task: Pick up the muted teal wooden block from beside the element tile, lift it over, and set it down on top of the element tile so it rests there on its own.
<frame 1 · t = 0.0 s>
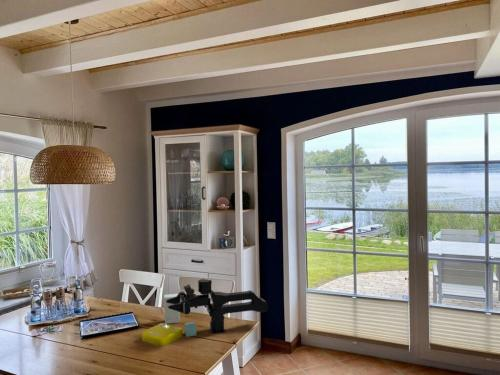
hand: (167, 304, 188), 17 cm above the table, tool horizontal, fingers open, 9 cm apart
skincare box: (172, 322, 209), on the table
block: (190, 334, 192), on the table
element tile: (162, 339, 188), on the table
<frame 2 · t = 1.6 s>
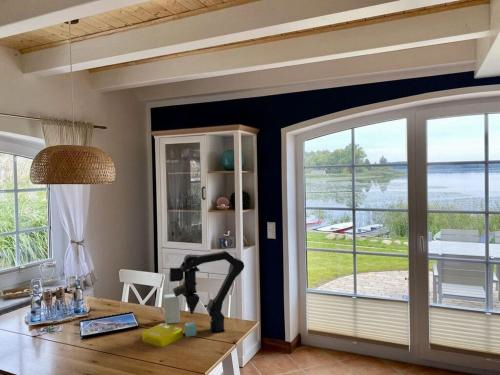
hand: (190, 310, 192), 12 cm above the table, tool pointing down, fingers open, 9 cm apart
nothing on the table moved.
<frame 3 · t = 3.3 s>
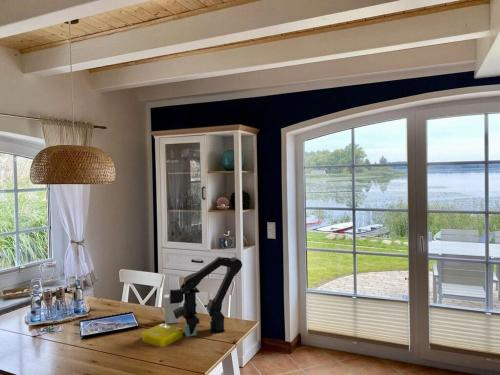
hand: (190, 332, 192), 1 cm above the table, tool pointing down, fingers closed on block, 5 cm apart
block: (190, 334, 192), on the table, touching gripper
everything else where it was.
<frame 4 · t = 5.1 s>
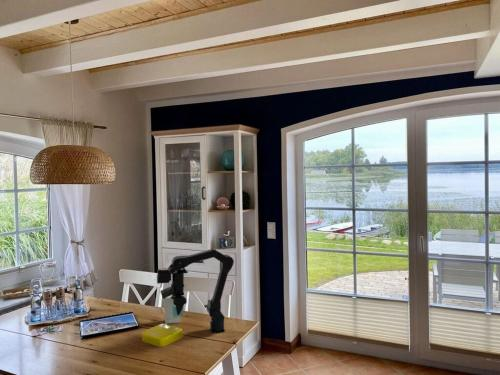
hand: (177, 313, 190), 12 cm above the table, tool pointing down, fingers closed on block, 5 cm apart
block: (177, 315, 190), point 10 cm above the table, touching gripper
everything else where it was.
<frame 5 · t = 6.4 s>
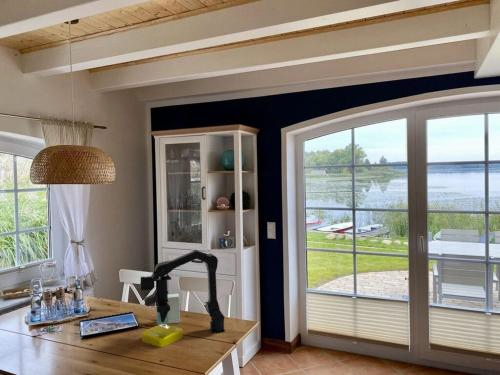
hand: (162, 320, 187), 9 cm above the table, tool pointing down, fingers closed on block, 5 cm apart
block: (162, 322, 188), point 8 cm above the table, touching gripper
everything else where it was.
when the fingers open (7 cm above the table, at t = 7.1 s): block drops 2 cm, point 4 cm above the table.
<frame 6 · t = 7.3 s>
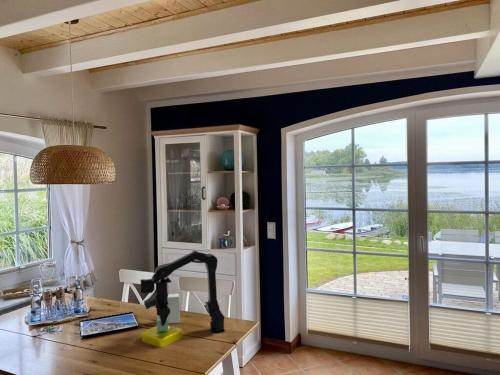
hand: (162, 322, 188), 7 cm above the table, tool pointing down, fingers open, 7 cm apart
block: (162, 329, 188), point 4 cm above the table
everything else where it was.
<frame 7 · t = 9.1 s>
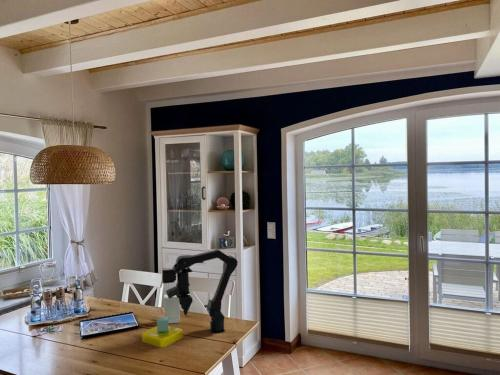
hand: (184, 311, 191), 12 cm above the table, tool pointing down, fingers open, 9 cm apart
block: (162, 329, 187), point 4 cm above the table, touching element tile
element tile: (162, 340, 187), on the table, touching block
everything else where it was.
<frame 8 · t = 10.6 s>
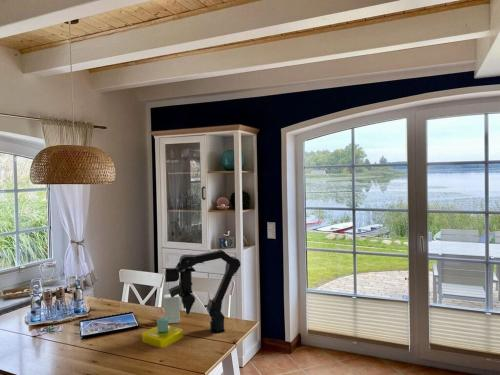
hand: (186, 311, 191), 12 cm above the table, tool pointing down, fingers open, 9 cm apart
nothing on the table moved.
at the end: block inside the target area on the element tile (0.8 cm from its centre), point 5.0 cm above the element tile's base; block touching element tile; the gripper is holding nothing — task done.
